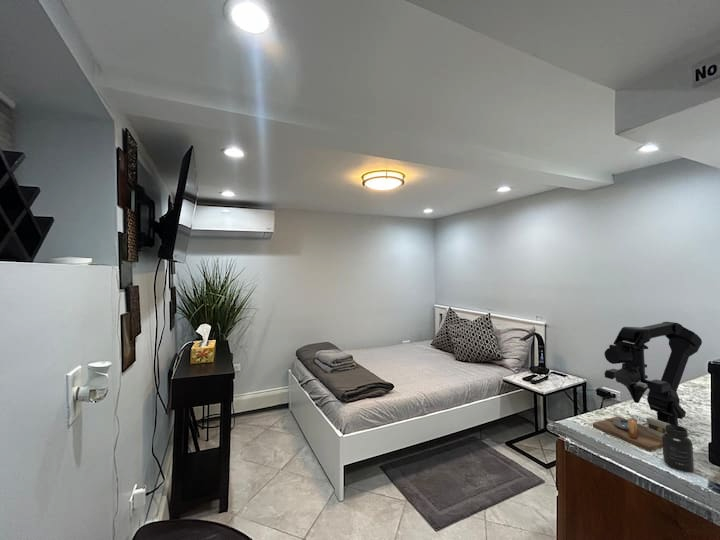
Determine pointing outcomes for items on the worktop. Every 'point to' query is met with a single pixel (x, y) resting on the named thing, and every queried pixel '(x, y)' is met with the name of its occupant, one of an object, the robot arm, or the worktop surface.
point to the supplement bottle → (677, 448)
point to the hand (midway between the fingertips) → (636, 402)
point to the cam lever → (628, 426)
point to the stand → (647, 435)
